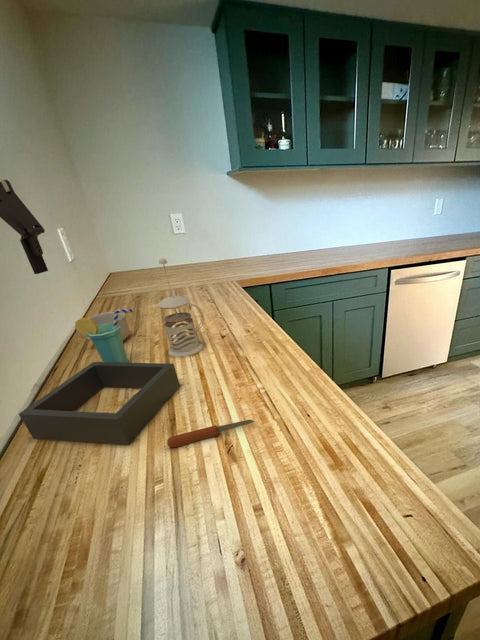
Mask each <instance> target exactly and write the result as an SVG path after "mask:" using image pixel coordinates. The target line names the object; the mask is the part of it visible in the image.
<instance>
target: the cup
mask: <svg viewBox="0 0 480 640" xmlns="http://www.w3.org/2000/svg"><path fill="white" fill-rule="evenodd" d="M114 312H115V313H114V324H105V325H101V326H97V325H96V324H95V323H94V322H93V321H92V320H90V319H88V318H87V317H81V318H79V319H78V320H76V321H75V325H74V326H75V327H74V328H75V329H74V330H76V332H77V331H78V332H79V333H80V334H81V335H82V336H85V337H90V338H91V340H90V341H91V342H92V343H93V345H94V348H95V349H96V352H97V354H98V355H99V357H100V359H101V362H118V363H129V360H128V357H127V352H126V349H125V344H124V341H122V337H121V333H120V331H121V328H120V326H118V325H117V324H118V314H119V313H124V314H126V313H133V309H132V308H118V309H116V310H115V311H114Z"/></svg>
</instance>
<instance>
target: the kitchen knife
mask: <svg viewBox="0 0 480 640" xmlns="http://www.w3.org/2000/svg"><path fill="white" fill-rule="evenodd" d="M253 423H255V420H253V419H245V420H240V421H235V422H231V423H228V424H227V423H226V424H222V425H212V426H208V427H207V426H206V427H203V428H199V429H195V430H191V431H188V432H184V433H180V434H176V435H173V436H170V437H168V439H167V440H166V445H167V446H168V447H169V448H178V447H182V446H184V445H188V444H191V443H194V442H198V441H201V440H205V439H208V438H212V437H218V436H220V433H222V432H226V431H230V430H234V429H237V428H239V427H243V426H246V425H249V424H250V425H251V424H253Z"/></svg>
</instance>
